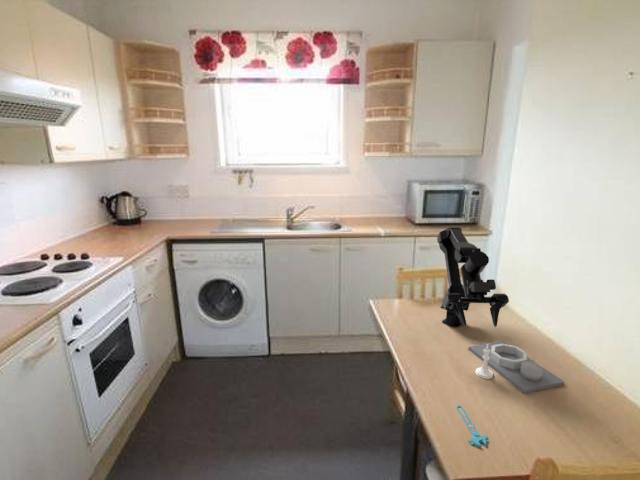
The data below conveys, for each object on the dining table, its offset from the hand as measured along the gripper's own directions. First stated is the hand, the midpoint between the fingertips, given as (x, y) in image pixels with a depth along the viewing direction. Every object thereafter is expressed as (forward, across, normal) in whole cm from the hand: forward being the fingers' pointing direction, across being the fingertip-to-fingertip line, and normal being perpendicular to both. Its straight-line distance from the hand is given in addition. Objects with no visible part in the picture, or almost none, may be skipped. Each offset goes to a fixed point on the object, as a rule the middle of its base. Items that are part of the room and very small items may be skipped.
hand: (480, 326), depth 114 cm
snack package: (-22, +3, +41) cm, 47 cm away
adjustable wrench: (+29, -11, -10) cm, 33 cm away
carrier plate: (+10, +10, +8) cm, 16 cm away
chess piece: (+14, 0, +4) cm, 14 cm away
